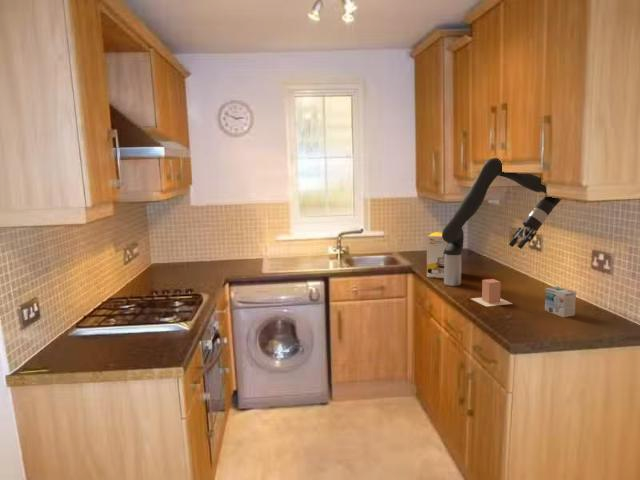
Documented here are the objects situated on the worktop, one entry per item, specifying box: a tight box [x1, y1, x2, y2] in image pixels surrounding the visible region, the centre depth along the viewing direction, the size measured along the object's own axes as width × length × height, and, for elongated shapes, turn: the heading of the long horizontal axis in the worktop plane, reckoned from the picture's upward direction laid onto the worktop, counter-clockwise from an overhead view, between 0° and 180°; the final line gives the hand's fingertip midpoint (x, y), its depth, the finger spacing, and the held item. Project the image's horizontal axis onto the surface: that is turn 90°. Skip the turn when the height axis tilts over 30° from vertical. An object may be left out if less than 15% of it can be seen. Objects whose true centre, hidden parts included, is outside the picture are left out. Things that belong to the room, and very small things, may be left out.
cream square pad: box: [470, 296, 513, 307], centre depth 226 cm, size 14×14×1 cm
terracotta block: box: [481, 278, 502, 303], centre depth 225 cm, size 6×6×10 cm
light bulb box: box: [544, 285, 577, 318], centre depth 206 cm, size 11×7×11 cm, turn 21°
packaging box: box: [426, 231, 448, 279], centre depth 282 cm, size 16×16×25 cm
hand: (514, 246), depth 224 cm, fingers open, 8 cm apart
